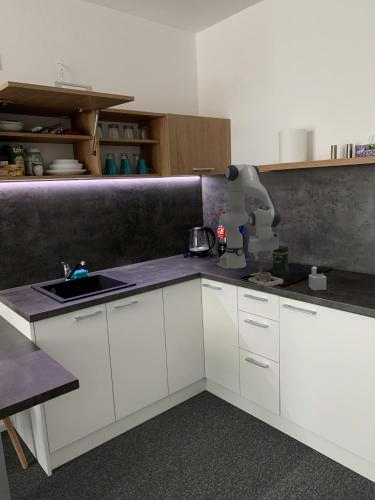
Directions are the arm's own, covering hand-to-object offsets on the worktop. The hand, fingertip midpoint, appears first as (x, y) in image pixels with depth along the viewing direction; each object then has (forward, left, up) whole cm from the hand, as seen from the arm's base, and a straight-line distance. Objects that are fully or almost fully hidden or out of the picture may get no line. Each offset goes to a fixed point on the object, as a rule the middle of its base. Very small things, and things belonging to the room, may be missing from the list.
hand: (263, 258), depth 224 cm
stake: (-13, +8, -14) cm, 21 cm away
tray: (+1, 0, -14) cm, 14 cm away
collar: (0, +1, -14) cm, 14 cm away
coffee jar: (-8, +20, -15) cm, 26 cm away
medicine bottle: (+27, +14, -15) cm, 34 cm away
